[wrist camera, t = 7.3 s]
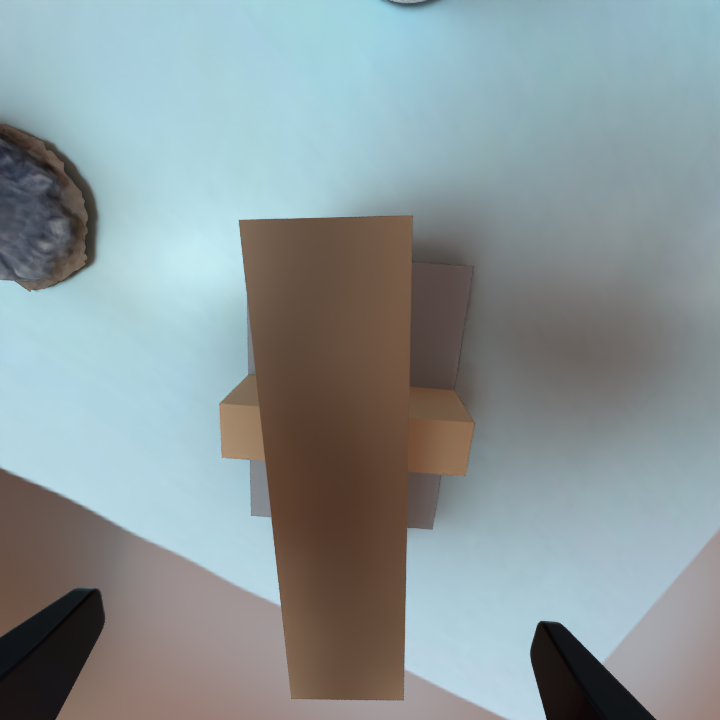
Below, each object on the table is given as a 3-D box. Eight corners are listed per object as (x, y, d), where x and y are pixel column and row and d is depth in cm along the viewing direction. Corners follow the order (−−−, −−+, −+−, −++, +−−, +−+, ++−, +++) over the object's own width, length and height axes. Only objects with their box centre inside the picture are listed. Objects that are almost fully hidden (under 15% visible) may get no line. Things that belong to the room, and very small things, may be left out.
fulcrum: (467, 265, 17) (502, 270, 12) (429, 516, 21) (445, 586, 16) (253, 250, 17) (212, 248, 12) (256, 503, 21) (226, 569, 16)
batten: (398, 228, 12) (412, 215, 8) (395, 596, 16) (403, 700, 13) (279, 231, 12) (238, 220, 8) (309, 596, 17) (291, 698, 13)
